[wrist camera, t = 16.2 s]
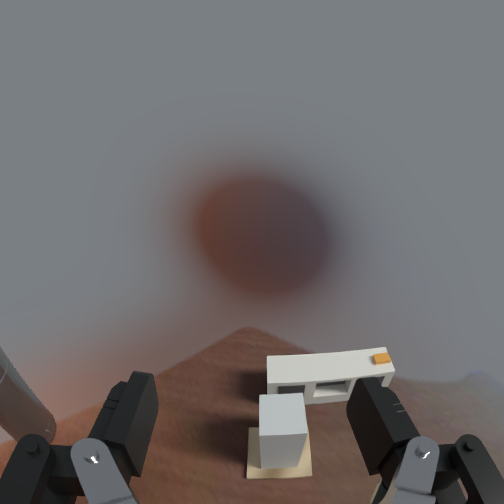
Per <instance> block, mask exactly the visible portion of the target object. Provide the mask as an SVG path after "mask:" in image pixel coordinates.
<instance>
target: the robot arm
mask: <svg viewBox="0 0 504 504" xmlns="http://www.w3.org/2000/svg"><path fill="white" fill-rule="evenodd" d="M346 412H347V417H348V420H349V422H350V425H351V427H352V430H353V433H354V435H355V438H356V440H357V443H358V445H359V448H360V451H361V453H362V456H363V458H364V461H365V464H366V466H367V469H368V472H369V474H370V476H371V475H375V474H379V473H380V475H381V477H382V478H381V479H380V481H379V482H378V485H377V487H376V489H375V492H374V494H373V496H372V498H371V500H370V502H369V504H504V480H503V478H502V476H501V474H500V472H499V471H498V469H497V467H496V465H495V464H494V462H493V460H492V459H491V457H490V455H489V453H488V452H487V450H486V449H485V447H484V445H483V444H482V442H481V441H480V439H479V438H477V437H476V436H474V435H470V434H466V435H463V436H461V437H460V438H459V439H458V440H457V441H456V442H455V444H444V445H437V443H436V442H435V441H434V440H432V439H431V438H428V437H424V436H420V434H419V433H418V431H417V429H416V428H415V426H414V424H413V422H412V421H411V419H410V417H409V416H408V414H407V412H406V411H404V407H403V406H402V404H400V401H399V399H398V398H397V396H396V394H395V393H394V392H392V391H391V390H390V389H389V388H387V387H382V385H381V384H380V382H379V380H378V379H377V377H365V378H358V379H357V380H356V382H355V385H354V387H353V390H352V393H351V395H350V398H349V400H348V403H347V408H346ZM157 413H158V397H157V392H156V386H155V381H154V376H153V374H151V373H144V372H138V371H133V373H132V374H131V376H130V379H129V381H128V382H122V381H121V382H119V383H118V384H117V385H115V386H114V387H113V388H112V389H111V391H110V393H109V395H108V397H107V400H106V401H105V403H104V405H103V408H102V409H101V411H100V413H99V415H98V417H97V419H96V422H95V424H94V426H93V428H92V430H91V432H90V434H89V436H88V438H85V439H81V440H79V441H78V442H76V443H75V444H74V445H73V446H60V445H49V443H50V442H51V441H52V439H53V437H54V435H55V430H56V423H55V419H54V417H53V415H52V414H51V413H50V412H49V411H48V409H46V407H45V406H44V405H43V404H42V402H41V401H40V400H39V399H38V398H37V396H36V395H35V394H34V393H33V391H32V390H31V389H30V388H29V386H28V385H27V384H26V382H25V381H24V380H23V379H22V377H21V376H20V375H19V373H18V372H17V370H16V369H15V368H14V366H13V365H12V363H11V362H10V360H9V359H8V357H7V356H6V354H5V353H4V351H3V350H2V348H1V347H0V426H1V427H2V428H3V429H4V430H5V431H6V432H7V433H8V434H9V435H10V436H12V437H13V438H14V439H15V440H16V441H17V442H18V443H17V445H16V447H15V449H14V451H13V453H12V455H11V457H10V459H9V461H8V463H7V466H6V468H5V470H4V472H3V474H2V476H1V479H0V504H75V501H76V498H77V496H86V498H87V500H88V502H89V504H140V502H139V501H138V499H137V497H136V496H135V494H134V492H133V491H132V489H131V487H130V485H129V482H130V479H131V476H136V477H141V473H142V469H143V465H144V461H145V457H146V453H147V450H148V446H149V442H150V439H151V435H152V431H153V428H154V424H155V421H156V417H157ZM459 478H460V479H461V481H462V483H463V485H464V487H465V489H466V491H467V493H468V500H466V498H465V496H464V494H463V492H462V489H461V487H460V485H459V483H458V481H457V480H458V479H459Z"/></svg>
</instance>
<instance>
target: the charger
mask: <svg viewBox="0 0 504 504" xmlns="http://www.w3.org/2000/svg"><path fill="white" fill-rule="evenodd" d="M307 434H308V432H307V423H306V414H305V406H304V398H303V393H292V394H270V395H259V439H260V455H261V469H276V468H294V467H298V464H299V461H300V458H301V455H302V451H303V448H304V444H305V441H306V437H307Z"/></svg>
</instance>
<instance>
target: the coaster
mask: <svg viewBox="0 0 504 504" xmlns="http://www.w3.org/2000/svg"><path fill="white" fill-rule="evenodd" d="M307 432H308V426H307ZM303 477H312V466H311V455H310V444H309V433H308V434H307V437H306V441H305V444H304V448H303V451H302V455H301V458H300V461H299V464H298V467H294V468H276V469H261V455H260V439H259V428H254V427H249V439H248V460H247V479H288V478H303Z"/></svg>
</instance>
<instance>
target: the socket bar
mask: <svg viewBox="0 0 504 504" xmlns="http://www.w3.org/2000/svg"><path fill="white" fill-rule="evenodd" d="M394 373H395V369H394V367H393V364H392V362H391V359H390V356H389V354H388V352H387V350H386V347H382V348H374V349H365V350H356V351H346V352H335V353H322V354H306V355H284V356H267V395H270V394H292V393H303V398H304V405H307V404H319V403H330V402H339V401H347V400H349V398H350V395H351V393H352V390H353V387H354V385H355V382H356V380H357V379H358V378H365V377H377V379H378V380H379V382H380V384H381V385H382V387H388V385H389V383H390V381H391V379H392V377H393V375H394Z"/></svg>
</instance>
